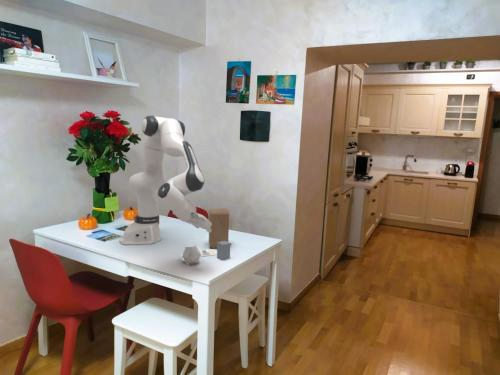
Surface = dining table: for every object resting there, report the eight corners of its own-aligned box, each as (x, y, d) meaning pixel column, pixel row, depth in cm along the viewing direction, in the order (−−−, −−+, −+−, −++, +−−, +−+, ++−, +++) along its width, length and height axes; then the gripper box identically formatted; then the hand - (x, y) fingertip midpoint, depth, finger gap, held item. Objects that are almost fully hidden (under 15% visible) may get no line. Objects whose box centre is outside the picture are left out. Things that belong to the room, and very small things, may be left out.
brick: (222, 260, 181) (222, 244, 180) (216, 257, 184) (217, 242, 183) (229, 258, 184) (230, 243, 183) (224, 255, 188) (224, 240, 186)
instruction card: (195, 257, 184) (195, 256, 184) (192, 251, 191) (192, 251, 191) (218, 254, 188) (218, 254, 188) (214, 249, 196) (214, 249, 196)
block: (228, 248, 199) (229, 212, 195) (209, 248, 197) (210, 212, 194) (226, 242, 208) (227, 208, 205) (208, 243, 207) (209, 208, 203)
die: (178, 263, 176) (180, 252, 170) (186, 250, 183) (189, 239, 176) (193, 271, 176) (196, 260, 169) (201, 257, 182) (204, 246, 175)
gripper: (203, 210, 159) (221, 228, 167) (178, 202, 174) (196, 219, 182) (195, 221, 157) (213, 239, 165) (170, 213, 172) (188, 229, 180)
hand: (204, 228), depth 173 cm, fingers open, 8 cm apart
